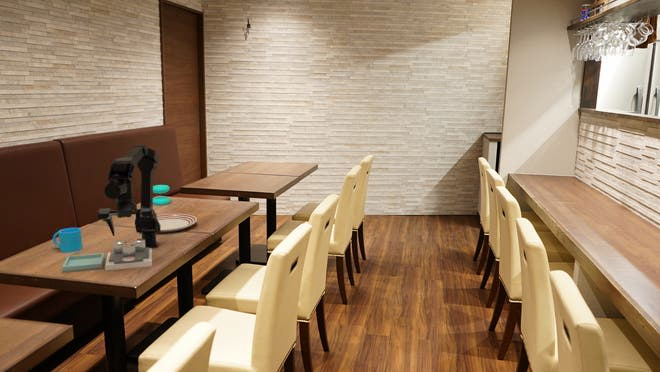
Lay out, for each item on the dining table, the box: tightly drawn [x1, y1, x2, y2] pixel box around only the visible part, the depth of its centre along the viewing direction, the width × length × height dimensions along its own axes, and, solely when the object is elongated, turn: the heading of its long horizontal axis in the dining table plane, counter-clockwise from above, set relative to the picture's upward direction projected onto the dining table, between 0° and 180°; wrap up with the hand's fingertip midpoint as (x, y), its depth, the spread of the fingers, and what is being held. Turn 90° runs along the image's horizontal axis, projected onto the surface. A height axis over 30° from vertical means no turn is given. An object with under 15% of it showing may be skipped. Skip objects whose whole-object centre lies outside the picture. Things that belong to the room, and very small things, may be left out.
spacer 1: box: [113, 239, 127, 254], centre depth 206 cm, size 4×4×4 cm
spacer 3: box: [132, 238, 146, 252], centre depth 208 cm, size 4×4×4 cm
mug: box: [52, 227, 83, 254], centre depth 218 cm, size 12×8×8 cm
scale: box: [104, 247, 153, 272], centre depth 203 cm, size 17×16×4 cm
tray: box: [61, 252, 106, 273], centre depth 199 cm, size 13×13×2 cm
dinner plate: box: [156, 213, 198, 233], centre depth 253 cm, size 28×27×3 cm
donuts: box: [153, 184, 171, 206], centre depth 301 cm, size 10×10×10 cm
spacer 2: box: [122, 243, 136, 257], centre depth 201 cm, size 4×4×4 cm
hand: (127, 234), depth 200 cm, fingers open, 9 cm apart
